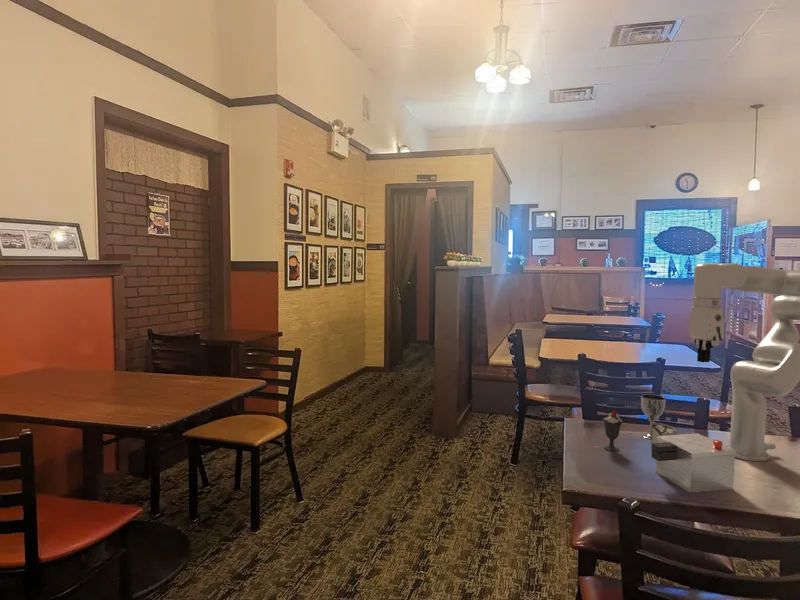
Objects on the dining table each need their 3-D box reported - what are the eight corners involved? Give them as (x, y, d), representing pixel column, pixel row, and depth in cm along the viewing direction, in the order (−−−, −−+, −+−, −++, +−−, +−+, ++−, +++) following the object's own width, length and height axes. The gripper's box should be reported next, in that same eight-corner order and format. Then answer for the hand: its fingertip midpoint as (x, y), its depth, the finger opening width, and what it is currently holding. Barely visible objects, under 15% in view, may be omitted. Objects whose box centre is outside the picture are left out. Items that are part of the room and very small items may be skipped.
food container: (681, 466, 164) (683, 435, 163) (660, 464, 165) (662, 433, 164) (669, 452, 176) (671, 423, 175) (650, 450, 177) (651, 421, 176)
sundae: (611, 453, 173) (613, 409, 172) (596, 447, 179) (598, 404, 178) (626, 451, 176) (628, 407, 175) (611, 444, 182) (613, 402, 181)
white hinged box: (696, 469, 161) (697, 437, 160) (732, 489, 147) (735, 454, 147) (638, 473, 157) (639, 441, 156) (670, 494, 144) (672, 459, 143)
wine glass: (667, 440, 187) (669, 399, 185) (645, 440, 187) (647, 399, 185) (656, 433, 194) (658, 394, 193) (635, 433, 195) (637, 393, 193)
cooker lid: (697, 437, 160) (697, 427, 160) (735, 454, 146) (736, 444, 146) (638, 441, 157) (639, 431, 156) (672, 459, 142) (673, 448, 142)
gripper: (736, 305, 155) (733, 366, 156) (699, 301, 170) (696, 356, 171) (715, 305, 154) (711, 367, 155) (678, 301, 168) (676, 357, 170)
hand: (703, 361), depth 163 cm, fingers closed
